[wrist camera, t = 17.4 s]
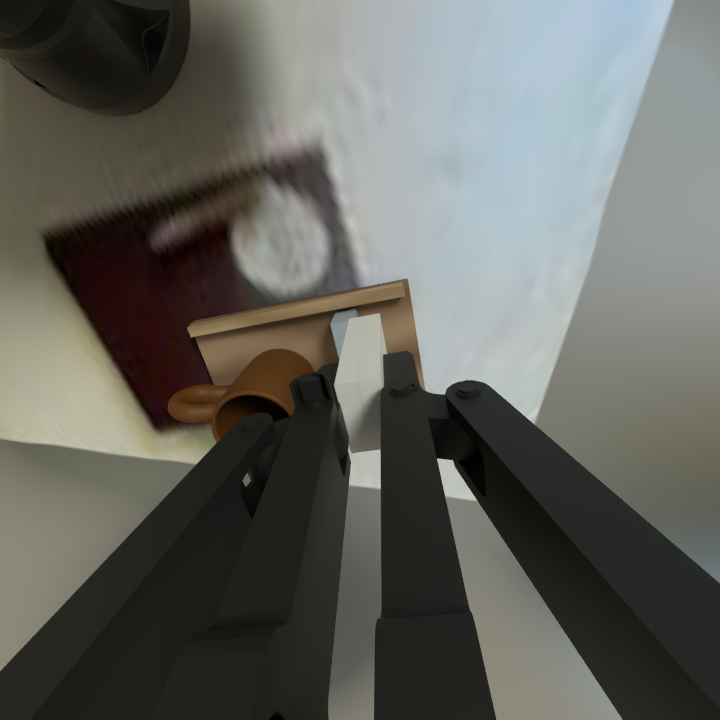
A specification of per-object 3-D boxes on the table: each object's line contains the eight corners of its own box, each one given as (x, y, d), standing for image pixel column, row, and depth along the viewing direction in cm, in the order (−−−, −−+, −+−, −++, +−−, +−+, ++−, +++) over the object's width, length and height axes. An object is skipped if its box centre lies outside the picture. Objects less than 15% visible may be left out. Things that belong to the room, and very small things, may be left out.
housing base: (195, 320, 37) (182, 328, 35) (407, 278, 34) (409, 284, 32) (242, 439, 43) (234, 453, 41) (428, 412, 40) (431, 425, 38)
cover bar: (335, 311, 35) (330, 324, 31) (356, 307, 34) (352, 319, 31) (361, 416, 39) (358, 438, 36) (379, 414, 39) (379, 435, 35)
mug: (207, 398, 40) (158, 452, 31) (205, 333, 36) (151, 373, 28) (315, 415, 40) (297, 474, 31) (323, 352, 37) (305, 397, 28)
